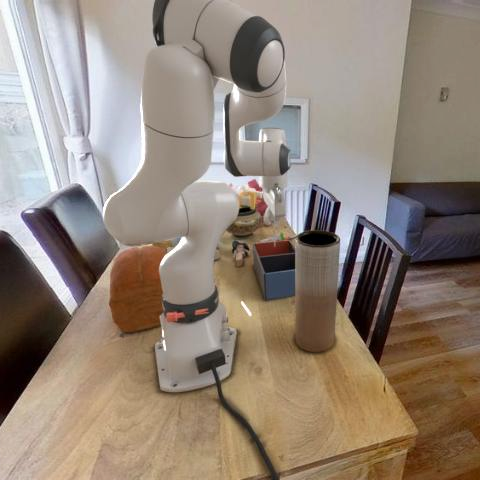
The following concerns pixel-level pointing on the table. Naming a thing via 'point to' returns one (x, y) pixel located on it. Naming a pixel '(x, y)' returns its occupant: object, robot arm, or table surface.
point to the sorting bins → (275, 268)
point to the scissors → (290, 237)
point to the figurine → (167, 243)
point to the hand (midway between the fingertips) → (274, 221)
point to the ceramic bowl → (245, 223)
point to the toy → (261, 205)
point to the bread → (137, 288)
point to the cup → (271, 239)
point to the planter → (316, 289)
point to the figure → (247, 196)
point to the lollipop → (270, 219)
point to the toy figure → (240, 251)
